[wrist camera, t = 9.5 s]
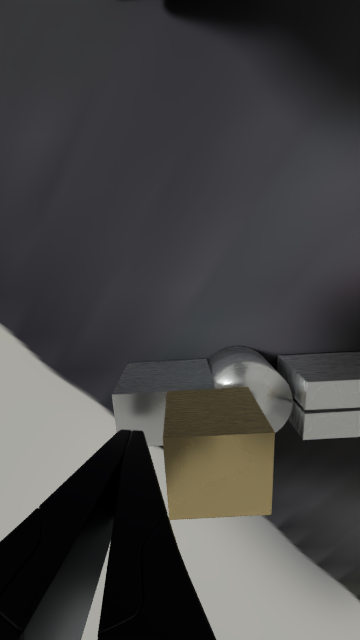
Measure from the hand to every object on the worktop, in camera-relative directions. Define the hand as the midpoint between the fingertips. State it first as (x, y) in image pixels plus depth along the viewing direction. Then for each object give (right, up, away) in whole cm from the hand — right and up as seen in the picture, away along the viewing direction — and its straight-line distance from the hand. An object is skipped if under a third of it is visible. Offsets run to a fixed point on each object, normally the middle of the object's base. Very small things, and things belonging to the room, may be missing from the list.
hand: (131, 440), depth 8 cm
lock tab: (+3, 0, +1) cm, 3 cm away
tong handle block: (+3, +1, +4) cm, 5 cm away
